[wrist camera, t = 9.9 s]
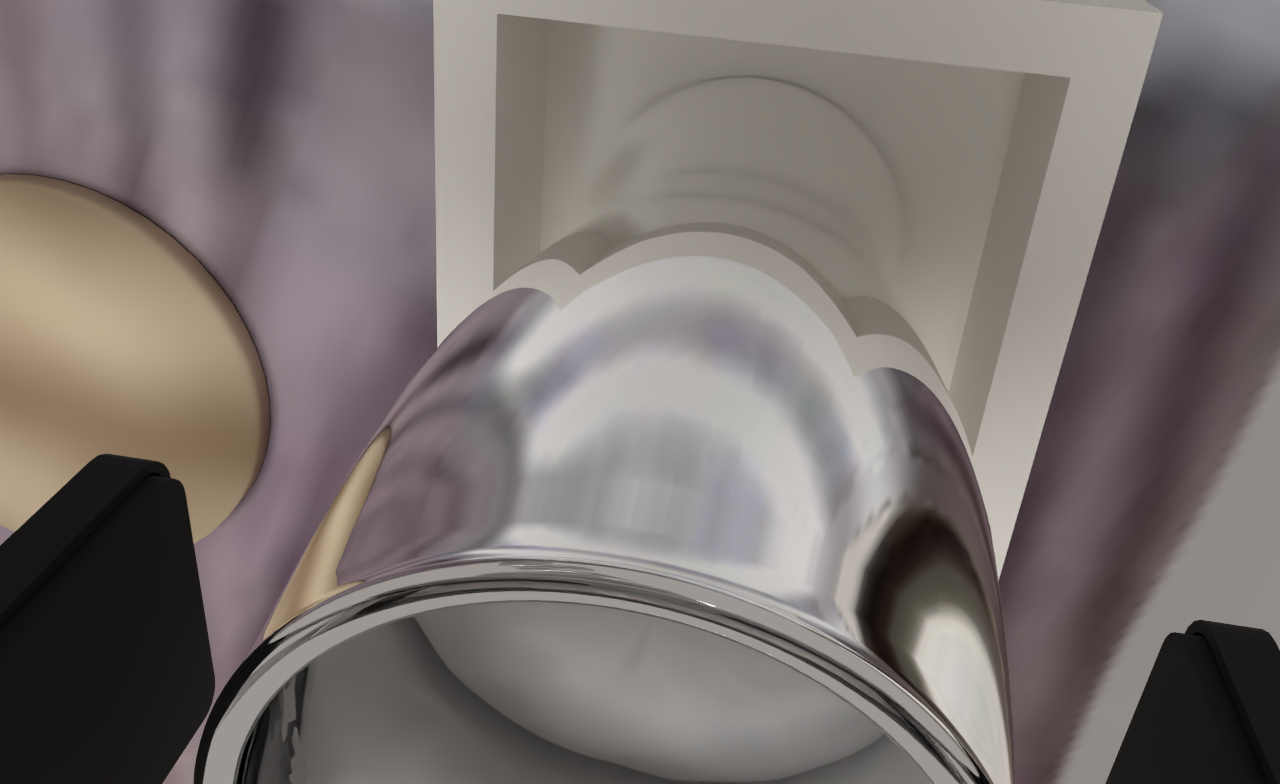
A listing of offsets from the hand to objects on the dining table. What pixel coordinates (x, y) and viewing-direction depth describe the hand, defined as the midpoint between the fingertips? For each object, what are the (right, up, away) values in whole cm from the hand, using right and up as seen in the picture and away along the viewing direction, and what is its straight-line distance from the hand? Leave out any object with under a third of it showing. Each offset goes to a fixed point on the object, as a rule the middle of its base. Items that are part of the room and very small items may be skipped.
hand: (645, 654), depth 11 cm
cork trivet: (-14, +3, +17) cm, 22 cm away
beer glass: (+2, +6, +11) cm, 13 cm away
